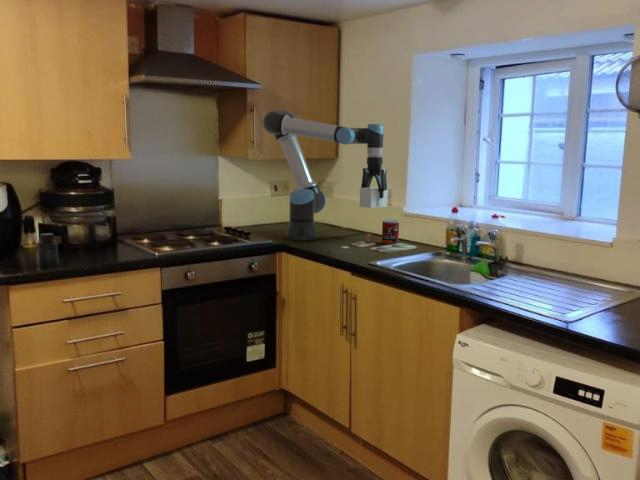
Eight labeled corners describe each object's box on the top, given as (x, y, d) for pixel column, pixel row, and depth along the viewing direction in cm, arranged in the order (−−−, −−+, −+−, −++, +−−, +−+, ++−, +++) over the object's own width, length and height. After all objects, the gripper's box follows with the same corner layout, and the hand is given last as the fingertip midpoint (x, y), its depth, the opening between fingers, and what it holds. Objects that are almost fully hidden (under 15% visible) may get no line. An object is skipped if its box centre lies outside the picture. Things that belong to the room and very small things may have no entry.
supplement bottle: (36, 264, 231) (34, 233, 229) (55, 262, 235) (54, 232, 233) (41, 268, 225) (39, 236, 223) (60, 266, 229) (59, 234, 227)
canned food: (380, 244, 285) (381, 221, 283) (383, 241, 293) (383, 219, 291) (397, 245, 283) (398, 222, 281) (399, 242, 291) (399, 219, 289)
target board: (370, 249, 272) (370, 247, 271) (399, 244, 285) (399, 242, 285) (387, 253, 264) (387, 250, 264) (416, 248, 278) (416, 245, 278)
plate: (351, 245, 282) (351, 235, 281) (365, 242, 288) (366, 232, 288) (360, 247, 277) (360, 236, 277) (375, 244, 284) (375, 234, 283)
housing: (359, 206, 296) (359, 188, 294) (375, 205, 303) (376, 186, 302) (370, 208, 290) (371, 189, 289) (387, 206, 298) (387, 188, 296)
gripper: (354, 155, 298) (353, 202, 302) (385, 157, 283) (383, 206, 286) (364, 155, 302) (363, 201, 306) (396, 157, 287) (394, 205, 291)
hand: (373, 203), depth 296 cm, fingers closed on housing, 8 cm apart
